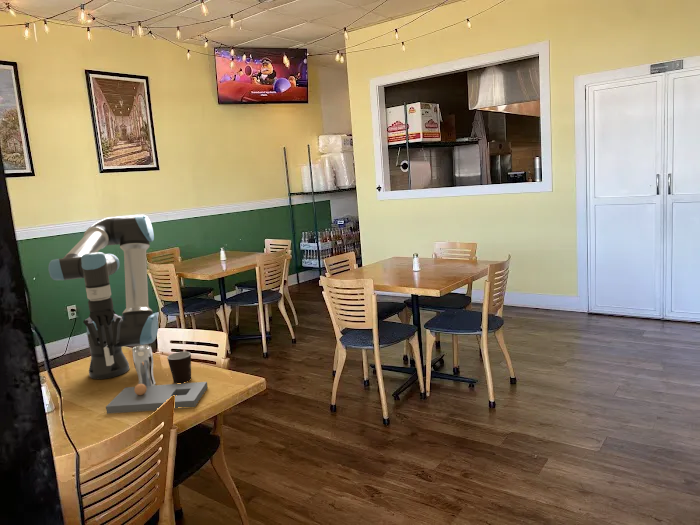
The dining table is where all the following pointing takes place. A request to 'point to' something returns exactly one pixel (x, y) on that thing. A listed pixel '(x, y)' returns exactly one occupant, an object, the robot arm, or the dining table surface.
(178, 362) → the coffee mug
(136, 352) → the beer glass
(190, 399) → the board
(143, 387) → the ball
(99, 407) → the dining table surface
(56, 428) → the dining table surface
